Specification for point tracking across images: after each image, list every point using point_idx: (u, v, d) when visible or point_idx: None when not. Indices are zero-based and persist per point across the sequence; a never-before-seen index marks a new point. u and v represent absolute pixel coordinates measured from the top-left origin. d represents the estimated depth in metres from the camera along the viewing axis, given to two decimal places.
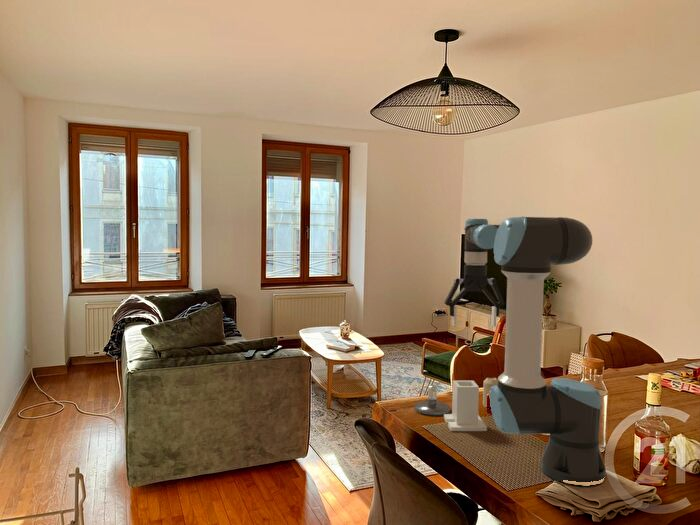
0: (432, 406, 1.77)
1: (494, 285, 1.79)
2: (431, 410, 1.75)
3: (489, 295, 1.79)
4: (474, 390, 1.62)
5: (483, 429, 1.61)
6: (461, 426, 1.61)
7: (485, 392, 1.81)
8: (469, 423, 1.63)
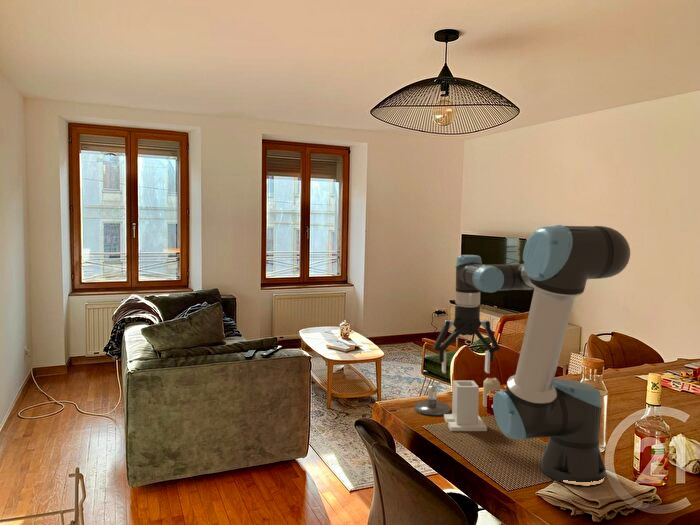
0: (432, 406, 1.77)
1: (488, 328, 1.63)
2: (431, 410, 1.75)
3: (482, 339, 1.63)
4: (474, 390, 1.62)
5: (483, 429, 1.61)
6: (461, 426, 1.61)
7: (485, 392, 1.81)
8: (469, 423, 1.63)
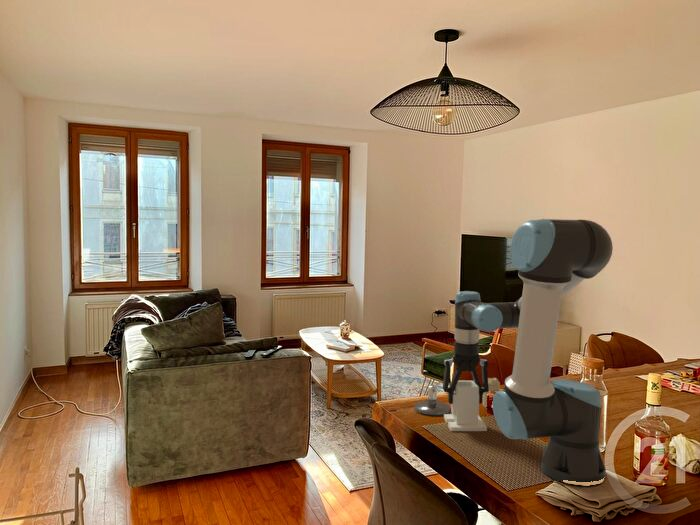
0: (432, 406, 1.77)
1: (485, 368, 1.63)
2: (431, 410, 1.75)
3: (476, 378, 1.64)
4: (474, 390, 1.62)
5: (483, 429, 1.61)
6: (461, 426, 1.61)
7: (485, 392, 1.81)
8: (469, 423, 1.63)
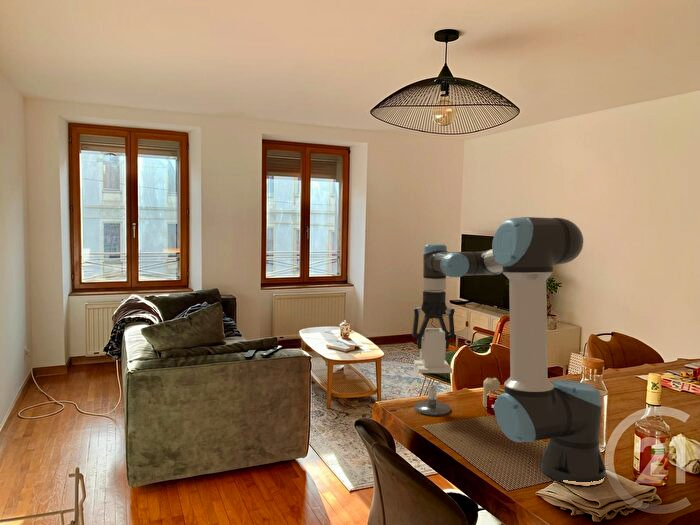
0: (432, 406, 1.77)
1: (451, 315, 1.75)
2: (431, 410, 1.75)
3: (443, 325, 1.75)
4: (441, 335, 1.74)
5: (448, 371, 1.72)
6: (428, 368, 1.73)
7: (485, 392, 1.81)
8: (436, 366, 1.74)
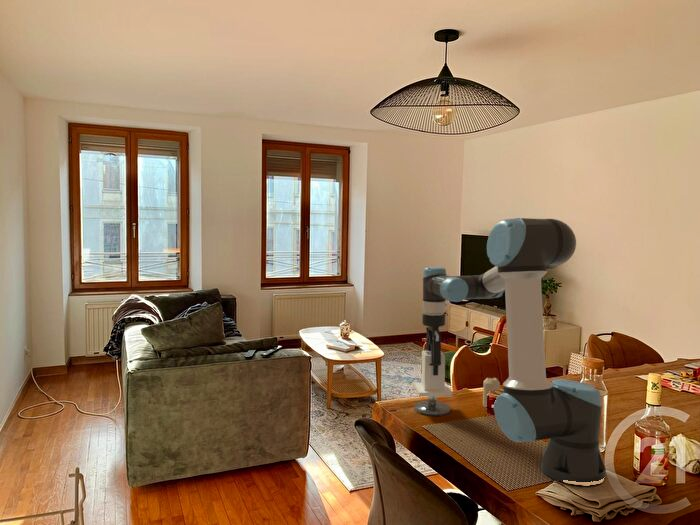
0: (432, 406, 1.77)
1: (433, 341, 1.71)
2: (431, 410, 1.75)
3: (431, 349, 1.74)
4: (424, 357, 1.75)
5: (418, 393, 1.74)
6: (417, 385, 1.80)
7: (485, 392, 1.81)
8: (423, 387, 1.77)
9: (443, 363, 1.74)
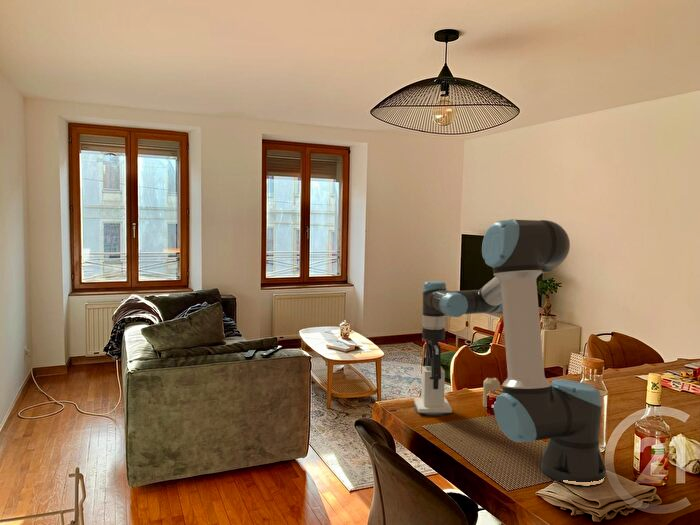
0: None
1: (432, 355, 1.71)
2: None
3: (431, 363, 1.74)
4: (424, 373, 1.76)
5: (418, 409, 1.74)
6: (416, 400, 1.81)
7: (485, 392, 1.81)
8: (423, 403, 1.78)
9: (443, 379, 1.75)
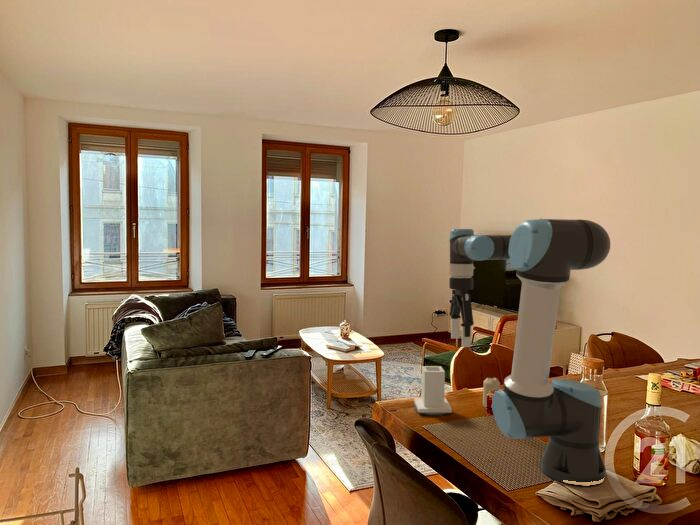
0: None
1: (462, 301, 1.63)
2: None
3: (461, 311, 1.65)
4: (424, 373, 1.76)
5: (418, 409, 1.74)
6: (416, 400, 1.81)
7: (485, 392, 1.81)
8: (423, 403, 1.78)
9: (443, 379, 1.75)
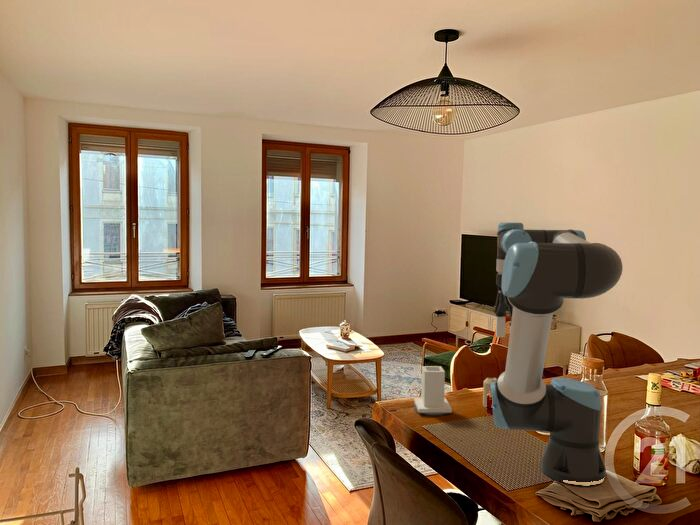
0: None
1: None
2: None
3: (509, 310, 1.57)
4: (424, 373, 1.76)
5: (418, 409, 1.74)
6: (416, 400, 1.81)
7: (485, 392, 1.81)
8: (423, 403, 1.78)
9: (443, 379, 1.75)
